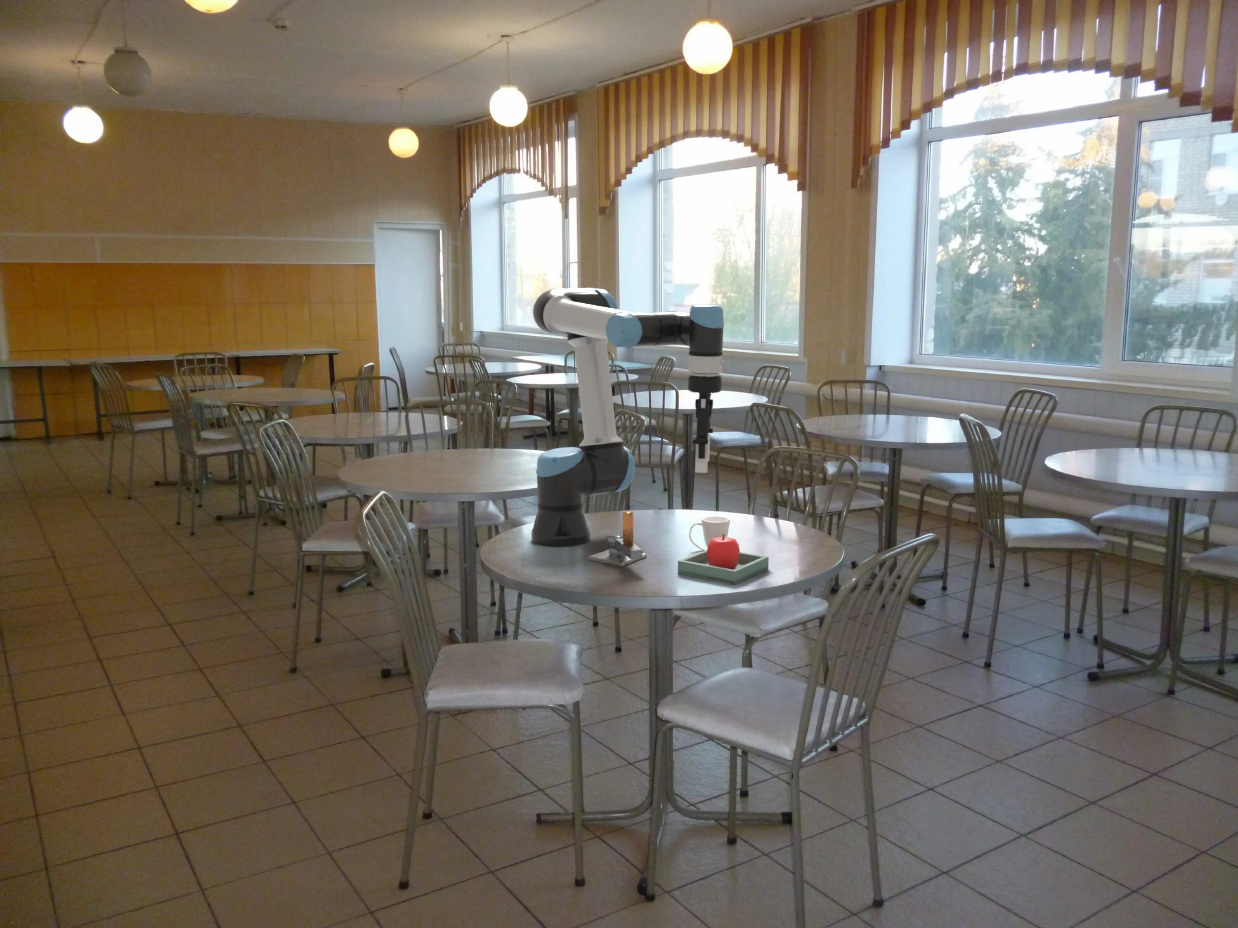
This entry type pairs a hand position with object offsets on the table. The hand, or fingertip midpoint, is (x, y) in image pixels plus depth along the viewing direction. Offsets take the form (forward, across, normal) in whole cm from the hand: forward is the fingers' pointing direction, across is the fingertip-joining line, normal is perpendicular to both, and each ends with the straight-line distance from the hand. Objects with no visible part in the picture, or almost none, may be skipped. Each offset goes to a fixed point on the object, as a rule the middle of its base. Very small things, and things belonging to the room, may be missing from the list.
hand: (702, 466), depth 230 cm
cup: (+24, +13, -2) cm, 27 cm away
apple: (+23, -6, -6) cm, 24 cm away
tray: (+23, -5, -6) cm, 24 cm away
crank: (+20, -1, +17) cm, 27 cm away
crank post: (+24, +4, +20) cm, 31 cm away
